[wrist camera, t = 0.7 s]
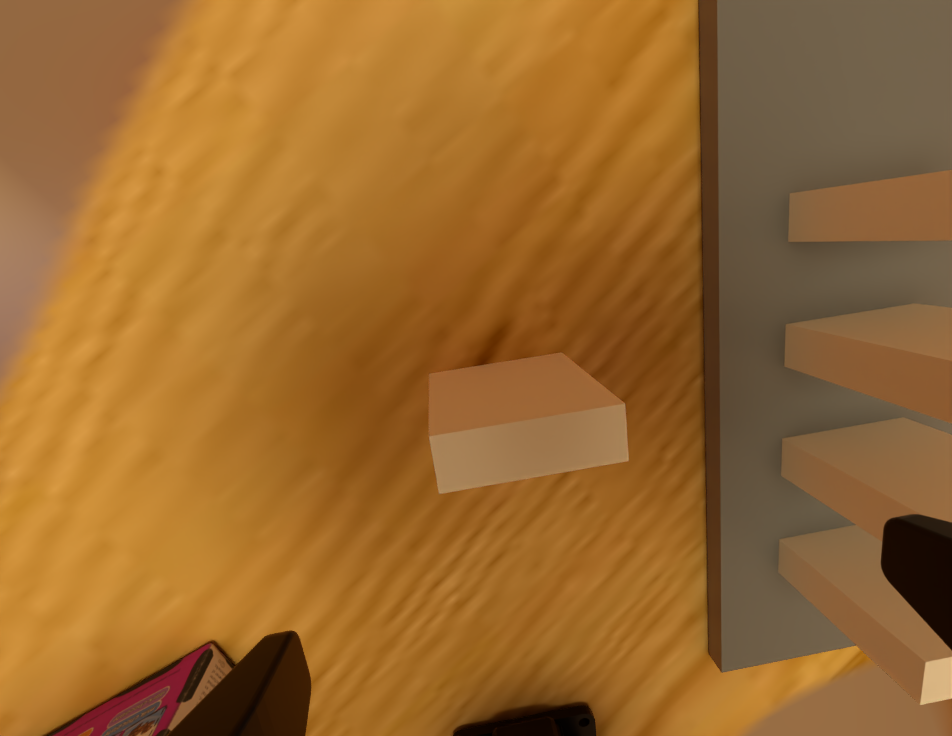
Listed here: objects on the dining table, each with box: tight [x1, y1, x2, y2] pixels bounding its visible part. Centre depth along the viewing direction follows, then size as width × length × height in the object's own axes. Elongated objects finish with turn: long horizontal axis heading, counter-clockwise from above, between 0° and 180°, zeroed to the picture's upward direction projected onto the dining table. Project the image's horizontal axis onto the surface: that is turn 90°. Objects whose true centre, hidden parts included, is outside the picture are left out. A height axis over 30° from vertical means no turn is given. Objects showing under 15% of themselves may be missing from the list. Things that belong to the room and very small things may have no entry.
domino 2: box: [788, 170, 952, 242], centre depth 14 cm, size 2×5×6 cm, turn 98°
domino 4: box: [781, 417, 952, 541], centre depth 16 cm, size 2×5×6 cm, turn 98°
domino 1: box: [429, 352, 629, 494], centre depth 15 cm, size 2×5×6 cm, turn 98°
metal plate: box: [699, 0, 952, 672], centre depth 18 cm, size 31×10×1 cm, turn 8°
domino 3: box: [784, 303, 952, 424], centre depth 15 cm, size 2×5×6 cm, turn 98°
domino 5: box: [778, 525, 952, 705], centre depth 17 cm, size 2×5×6 cm, turn 98°
